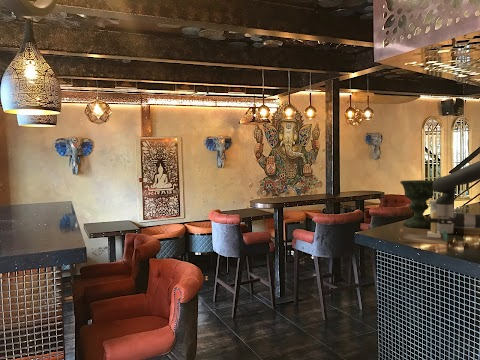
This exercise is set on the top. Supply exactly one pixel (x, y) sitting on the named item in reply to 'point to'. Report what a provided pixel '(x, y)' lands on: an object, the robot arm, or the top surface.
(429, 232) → the carriage
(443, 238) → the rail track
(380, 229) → the top surface
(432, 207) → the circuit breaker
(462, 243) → the top surface
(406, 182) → the goblet
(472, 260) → the top surface
